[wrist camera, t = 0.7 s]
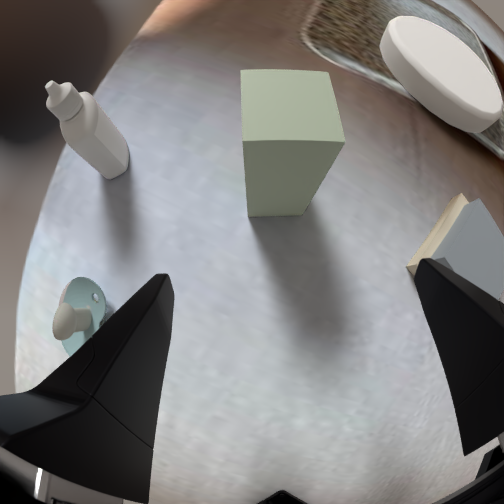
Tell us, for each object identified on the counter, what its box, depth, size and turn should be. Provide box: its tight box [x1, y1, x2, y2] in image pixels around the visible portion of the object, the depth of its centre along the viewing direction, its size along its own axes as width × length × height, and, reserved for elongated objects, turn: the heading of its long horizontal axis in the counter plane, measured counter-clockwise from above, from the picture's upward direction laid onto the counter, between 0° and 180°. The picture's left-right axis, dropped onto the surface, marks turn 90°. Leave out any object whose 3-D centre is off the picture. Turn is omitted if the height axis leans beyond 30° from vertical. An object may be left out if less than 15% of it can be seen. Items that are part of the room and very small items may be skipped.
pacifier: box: [53, 277, 107, 356], centre depth 19 cm, size 7×6×6 cm
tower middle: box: [431, 198, 504, 300], centre depth 19 cm, size 8×8×2 cm
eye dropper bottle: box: [46, 81, 129, 179], centre depth 18 cm, size 4×6×12 cm
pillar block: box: [241, 69, 345, 217], centre depth 17 cm, size 4×4×12 cm
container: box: [380, 16, 503, 133], centre depth 24 cm, size 20×20×5 cm
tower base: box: [406, 193, 469, 276], centre depth 22 cm, size 10×10×2 cm
